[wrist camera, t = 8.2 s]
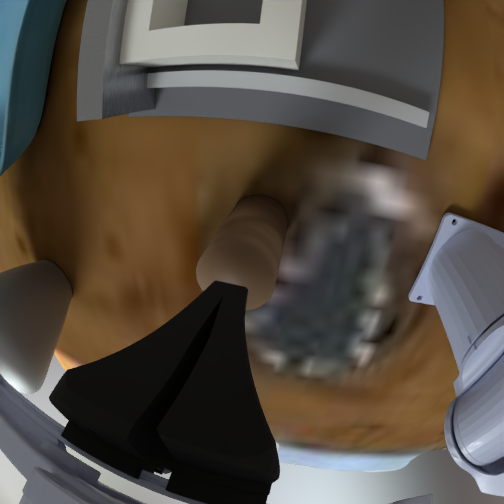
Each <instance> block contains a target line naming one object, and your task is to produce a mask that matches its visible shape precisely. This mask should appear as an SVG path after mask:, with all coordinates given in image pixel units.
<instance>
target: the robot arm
mask: <svg viewBox="0 0 504 504" xmlns="http://www.w3.org/2000/svg"><path fill="white" fill-rule="evenodd" d="M454 219H455V222H454V223H452V221H453V220H454ZM247 296H248V289H247V288H246V287H244V286H239V285H235V284H230V283H226V282H222V281H217V280H215V281H214V282H212V283H211V284H210V285H209V286H208V287H207V288H206V289H205V290H204V291H203V292H202V293H201V294H200V295H199V296H198V297H197V298H196V299H195V300H194V301H192V302H191V303H190V304H189V305H188V306H187V307H186V308H184V309H183V310H182V311H181V312H180V313H178V314H177V315H176V316H174V317H173V318H172V319H171V320H169V321H168V322H167V323H165V324H164V325H163V326H161V327H160V328H158V329H157V330H155V331H154V332H152V333H151V334H149V335H148V336H146V337H144V338H143V339H141V340H139V341H137V342H136V343H134V344H132V345H130V346H128V347H126V348H124V349H122V350H120V351H118V352H116V353H114V354H111V355H109V356H107V357H104V358H102V359H100V360H97V361H94V362H92V363H88V364H85V365H82V366H79V367H76V368H72V369H69V370H67V371H66V372H65V374H64V375H63V376H62V378H61V379H60V380H59V382H58V384H57V385H56V387H55V388H54V390H53V391H52V393H51V395H50V396H49V399H50V401H51V403H52V404H53V405H54V406H55V407H56V408H57V409H58V410H59V411H60V412H61V413H62V414H63V415H64V416H65V417H66V418H67V419H68V420H69V421H68V423H67V425H66V427H64V426H62V425H61V424H59V423H58V422H56V421H55V420H54V419H52V418H51V417H49V416H48V415H47V414H45V413H44V412H43V411H41V410H40V409H39V408H38V407H36V406H35V405H34V404H33V403H31V402H30V401H29V400H28V399H26V398H25V397H24V396H23V395H22V394H21V393H19V392H18V391H17V390H16V389H15V388H14V387H13V386H12V385H10V384H9V383H8V382H7V381H6V380H5V379H4V378H3V376H2V375H1V374H0V449H1V451H2V452H3V453H4V454H5V455H6V457H7V458H8V459H9V460H10V461H11V463H12V464H13V465H14V466H15V467H16V468H17V469H18V471H19V472H20V473H21V474H22V475H23V476H24V477H25V478H26V479H27V482H26V484H25V486H24V488H23V493H24V494H23V496H22V499H21V501H20V503H19V504H145V503H143V502H140V501H138V500H136V499H133V498H131V497H129V496H127V495H125V494H122V493H120V492H118V491H116V490H114V489H112V488H110V487H108V486H106V485H104V484H102V483H101V482H99V481H98V479H99V477H100V475H101V474H100V472H99V471H97V470H95V469H94V468H92V467H90V466H88V465H87V464H85V463H84V462H82V461H80V460H79V459H77V458H76V457H74V456H72V455H71V454H69V453H68V452H67V451H66V447H65V445H67V446H68V447H70V448H72V449H73V450H75V451H76V452H78V453H79V454H81V455H82V456H84V457H86V458H87V459H89V460H91V461H93V462H94V463H96V464H98V465H99V466H101V467H103V468H105V469H107V470H109V471H111V472H113V473H114V474H116V475H118V476H120V477H123V478H125V479H127V480H129V481H131V482H133V483H136V484H138V485H140V486H143V487H145V488H147V489H150V490H152V491H154V492H157V493H160V494H162V495H165V496H168V497H171V498H173V499H177V500H179V501H182V502H186V503H189V504H266V500H267V496H268V495H269V493H270V489H271V484H272V483H273V482H275V481H276V480H277V479H278V478H279V475H280V465H279V458H278V453H277V448H276V442H275V440H274V438H273V435H272V433H271V431H270V428H269V426H268V424H267V421H266V418H265V416H264V413H263V410H262V408H261V405H260V401H259V398H258V395H257V392H256V388H255V385H254V381H253V377H252V373H251V368H250V363H249V358H248V352H247V345H246V336H245V319H244V318H245V311H246V303H247ZM408 296H409V299H410V301H413V302H419V303H425V304H431V305H436V308H437V310H438V313H439V315H440V317H441V320H442V323H443V325H444V328H445V330H446V333H447V336H448V339H449V341H450V344H451V347H452V350H453V353H454V356H455V359H456V362H457V366H458V369H459V372H460V374H459V376H458V378H457V379H456V380H455V381H454V383H453V384H454V388H455V392H456V396H457V397H456V398H455V399H454V400H453V401H452V403H451V404H450V406H449V408H448V410H447V413H446V417H445V427H444V430H445V439H446V444H447V447H448V450H449V452H450V454H451V456H452V458H453V459H454V460H455V462H456V463H457V464H458V465H459V466H460V467H461V468H463V469H464V470H466V471H467V472H469V473H470V474H471V475H472V476H473V477H474V478H475V480H476V482H477V484H478V486H479V488H480V491H481V492H483V493H487V494H493V495H498V496H504V233H503V232H501V231H498V230H496V229H493V228H491V227H488V226H486V225H483V224H481V223H478V222H475V221H473V220H470V219H467V218H464V217H462V216H459V215H456V214H453V213H450V212H448V213H445V214H444V216H443V218H442V220H441V223H440V226H439V228H438V231H437V233H436V236H435V238H434V241H433V243H432V246H431V248H430V250H429V253H428V255H427V257H426V259H425V262H424V264H423V266H422V268H421V270H420V272H419V275H418V277H417V279H416V281H415V283H414V285H413V287H412V289H411V291H410V293H409V295H408ZM418 296H420V297H418ZM154 472H156V473H159V474H163V473H165V474H167V473H170V472H172V473H171V476H170V479H169V480H168V479H165V478H163V477H160V476H158V475H155V474H154ZM391 504H433V495H432V494H428V495H424V496H419V497H414V498H409V499H404V500H400V501H396V502H393V503H391Z"/></svg>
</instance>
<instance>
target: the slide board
mask: <svg viewBox="0 0 504 504" xmlns="http://www.w3.org/2000/svg"><path fill="white" fill-rule="evenodd" d="M262 3H263V0H188V3H187V9H186V16H185V23H184V26H189V25H201V24H221V23H250V24H260V18H261V10H262ZM443 47H444V0H307V3H306V13H305V22H304V31H303V40H302V48H301V57H300V65H299V71H297V70H290V69H282V68H273V67H262V66H248V65H223V64H202V65H177V66H163V67H158V73H148V80H147V88H157V89H156V109H152V110H145V111H139V112H133V113H128V117H135V116H193V117H213V118H227V119H238V120H248V121H257V122H265V123H273V124H280V125H286V126H293V127H298V128H304V129H310V130H315V131H320V132H325V133H330V134H335V135H339V136H343V137H348V138H352V139H356V140H360V141H364V142H368V143H371V144H375V145H379V146H382V147H386V148H389V149H392V150H396V151H399V152H402V153H405V154H408V155H411V156H414V157H417V158H420V159H423V160H426V157H427V153H428V149H429V145H430V140H431V136H432V131H433V126H434V120H435V115H436V109H437V103H438V97H439V89H440V81H441V72H442V62H443Z"/></svg>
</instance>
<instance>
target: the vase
mask: <svg viewBox="0 0 504 504" xmlns="http://www.w3.org/2000/svg"><path fill="white" fill-rule="evenodd" d="M72 297H73V294H72V289H71V285H70V283H69V282H68V280H67V278H66V277H65V275H64V273H63V272H62V271H61V270H60V269H59V268H58V267H57V266H56V265H55V264H54V263H53V262H52V261H48V260H44V259H43V260H41V261H38V262H34V263H30V264H26V265H22V266H18V267H15V268H12V269H9V270H7V271H4V272H2V273H0V374H1V375H2V376H3V378H4V379H5V380H6V381H7V382H8V383H9V384H10V385H12V386H13V387H14V388H15V389H16V390H17V391H18V392H19V393H25V394H32V393H35V392H37V391H38V390H39V389H40V388H41V386H42V384H43V382H44V380H45V377H46V374H47V372H48V368H49V365H50V362H51V359H52V356H53V354H54V351H55V348H56V345H57V342H58V339H59V336H60V333H61V330H62V327H63V324H64V321H65V318H66V315H67V311H68V308H69V304H70V301H71V299H72Z"/></svg>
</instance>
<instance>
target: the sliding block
mask: <svg viewBox="0 0 504 504" xmlns="http://www.w3.org/2000/svg"><path fill="white" fill-rule="evenodd" d="M187 3H188V0H128V4H127V9H126V15H125V21H124V28H123V36H122V44H121V53H120V64H126V65H140V66H151V67H163V66H177V65H202V64H223V65H248V66H262V67H273V68H282V69H290V70H297V71H299V65H300V57H301V48H302V40H303V31H304V22H305V13H306V3H307V0H263V3H262V10H261V18H260V24H250V23H221V24H201V25H189V26H184V23H185V16H186V9H187Z"/></svg>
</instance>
